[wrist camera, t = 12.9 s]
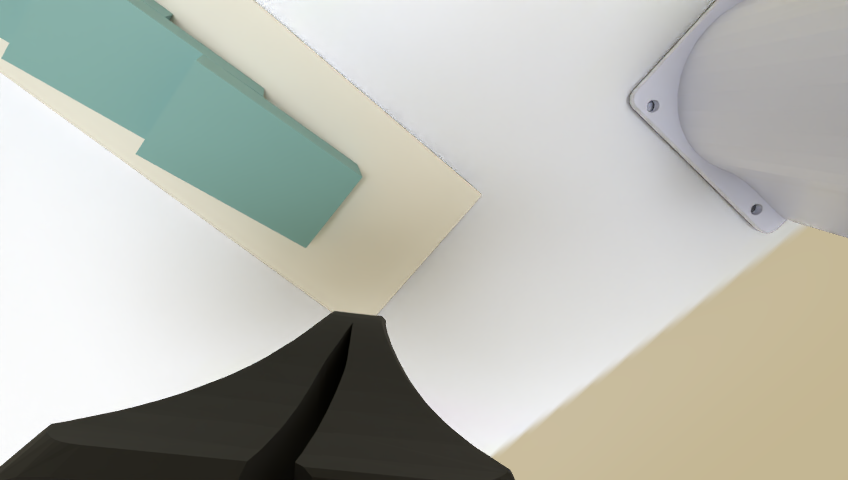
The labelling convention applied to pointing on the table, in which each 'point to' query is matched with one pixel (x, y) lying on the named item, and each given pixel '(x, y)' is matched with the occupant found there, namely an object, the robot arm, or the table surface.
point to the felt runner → (331, 121)
